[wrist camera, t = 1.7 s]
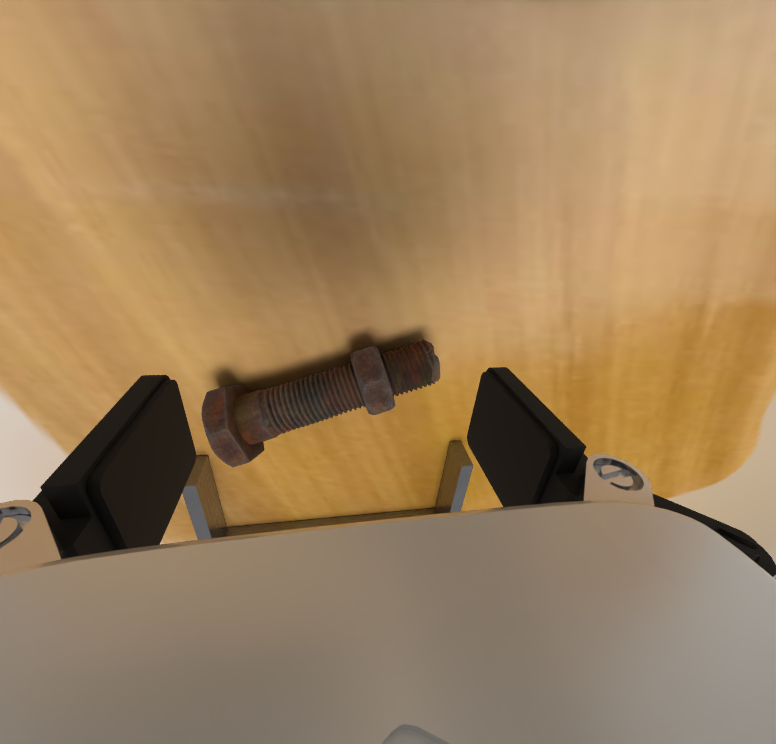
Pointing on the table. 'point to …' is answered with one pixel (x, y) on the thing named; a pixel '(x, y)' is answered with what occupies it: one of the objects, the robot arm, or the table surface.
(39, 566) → the robot arm
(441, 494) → the dock
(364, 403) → the bolt
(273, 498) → the table surface
